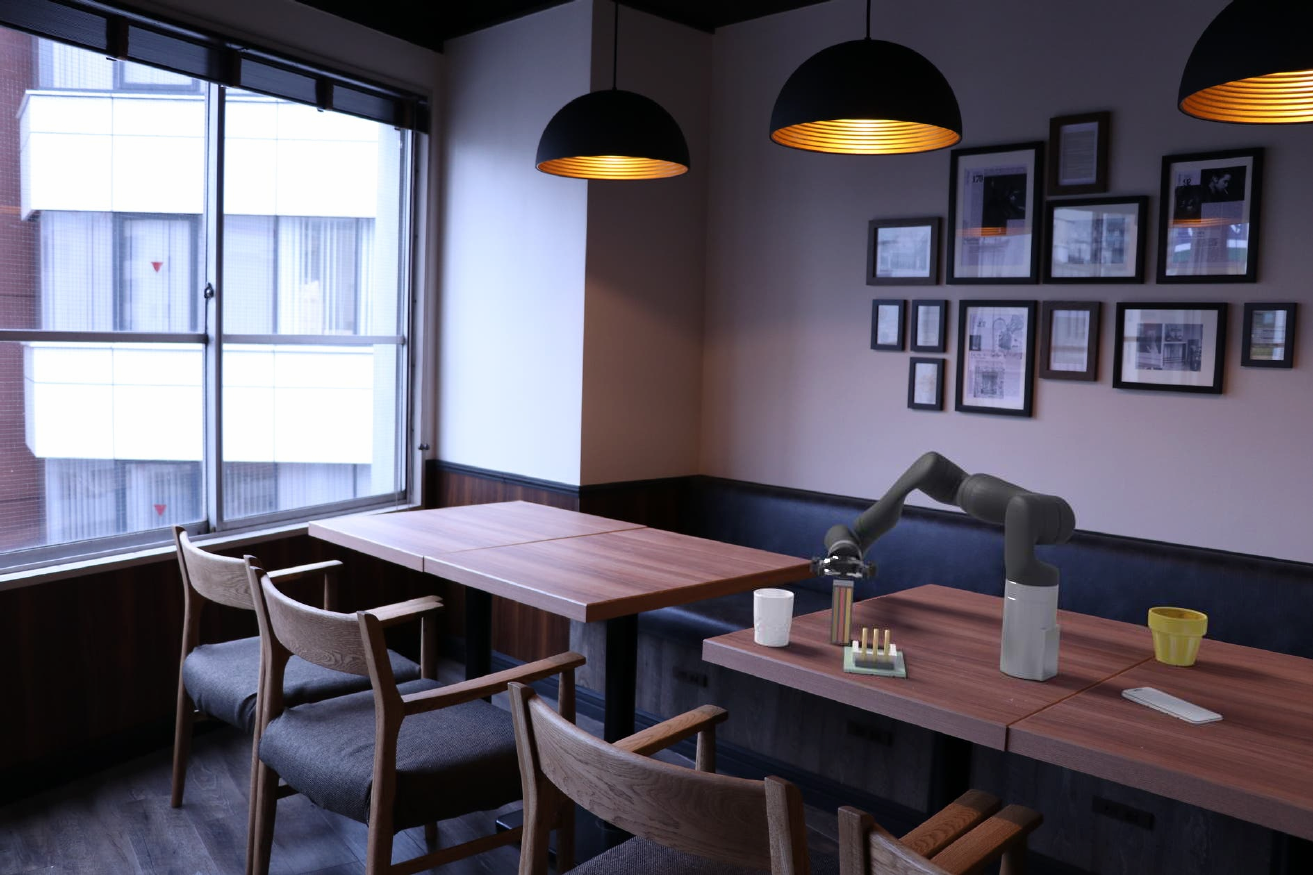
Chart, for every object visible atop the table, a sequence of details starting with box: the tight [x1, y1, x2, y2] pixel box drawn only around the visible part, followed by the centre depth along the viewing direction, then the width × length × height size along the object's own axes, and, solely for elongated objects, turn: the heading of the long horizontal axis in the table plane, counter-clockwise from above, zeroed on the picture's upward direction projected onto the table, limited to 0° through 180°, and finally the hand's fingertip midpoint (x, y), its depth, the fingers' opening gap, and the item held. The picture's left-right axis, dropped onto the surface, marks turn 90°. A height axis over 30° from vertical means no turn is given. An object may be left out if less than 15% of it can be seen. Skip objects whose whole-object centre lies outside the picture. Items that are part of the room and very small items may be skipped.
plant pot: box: [1147, 606, 1209, 667], centre depth 204 cm, size 10×10×10 cm
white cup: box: [753, 588, 795, 648], centre depth 206 cm, size 8×8×10 cm
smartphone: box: [1121, 686, 1223, 725], centre depth 176 cm, size 7×1×15 cm
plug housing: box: [829, 579, 855, 647], centre depth 209 cm, size 5×4×12 cm
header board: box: [843, 627, 907, 679], centre depth 195 cm, size 15×11×8 cm
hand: (843, 574), depth 220 cm, fingers open, 8 cm apart
